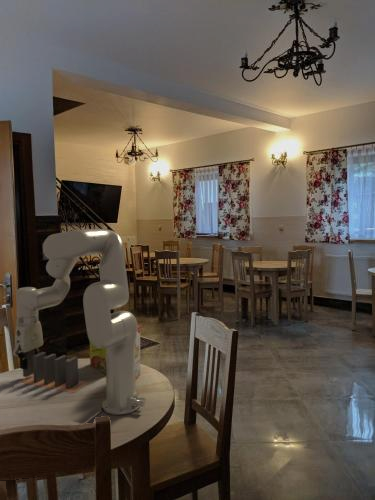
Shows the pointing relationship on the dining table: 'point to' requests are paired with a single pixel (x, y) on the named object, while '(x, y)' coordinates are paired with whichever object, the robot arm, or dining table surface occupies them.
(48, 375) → the domino
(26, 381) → the domino board
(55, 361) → the domino
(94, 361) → the food package
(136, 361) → the cracker box
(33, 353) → the domino
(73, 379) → the domino
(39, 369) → the domino
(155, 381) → the dining table surface
